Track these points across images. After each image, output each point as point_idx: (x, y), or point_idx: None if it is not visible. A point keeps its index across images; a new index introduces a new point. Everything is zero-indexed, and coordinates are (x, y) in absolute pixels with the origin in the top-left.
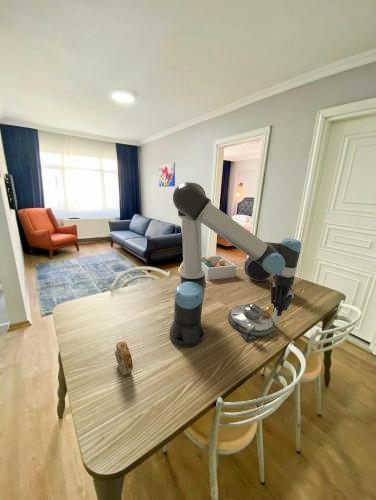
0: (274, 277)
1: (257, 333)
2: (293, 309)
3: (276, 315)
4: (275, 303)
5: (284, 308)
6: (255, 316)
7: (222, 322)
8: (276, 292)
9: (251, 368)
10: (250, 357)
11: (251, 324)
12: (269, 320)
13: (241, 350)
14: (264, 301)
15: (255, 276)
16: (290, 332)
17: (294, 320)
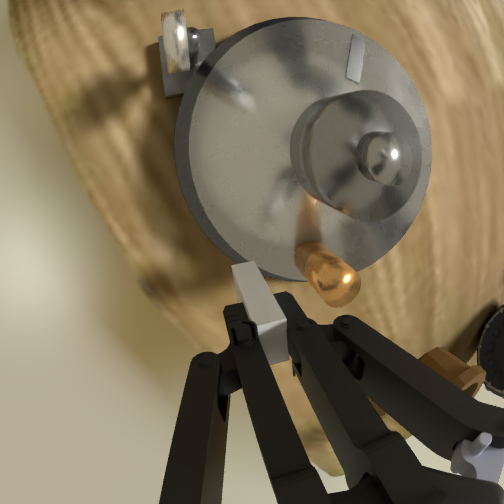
0: (472, 385)
1: (180, 112)
2: None
3: (241, 296)
4: (307, 349)
5: (189, 392)
6: (301, 144)
7: (330, 4)
8: (385, 457)
9: (21, 34)
10: (62, 37)
11: (171, 28)
12: (269, 246)
13: (109, 8)
14: (419, 307)
15: (499, 325)
16: (202, 323)
17: (280, 373)
